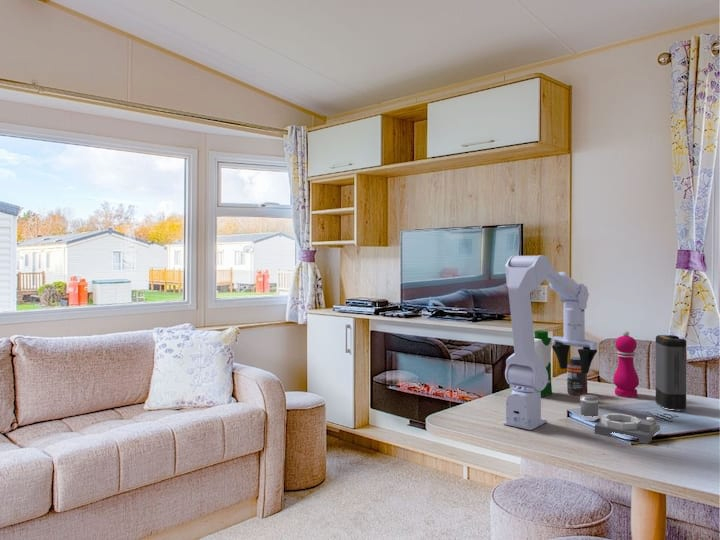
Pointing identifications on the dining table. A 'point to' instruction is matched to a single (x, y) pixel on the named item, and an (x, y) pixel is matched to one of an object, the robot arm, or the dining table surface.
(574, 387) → the supplement bottle
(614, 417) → the grey base plate
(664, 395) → the electronic device
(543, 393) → the milk carton
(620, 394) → the pepper mill
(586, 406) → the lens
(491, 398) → the dining table surface
